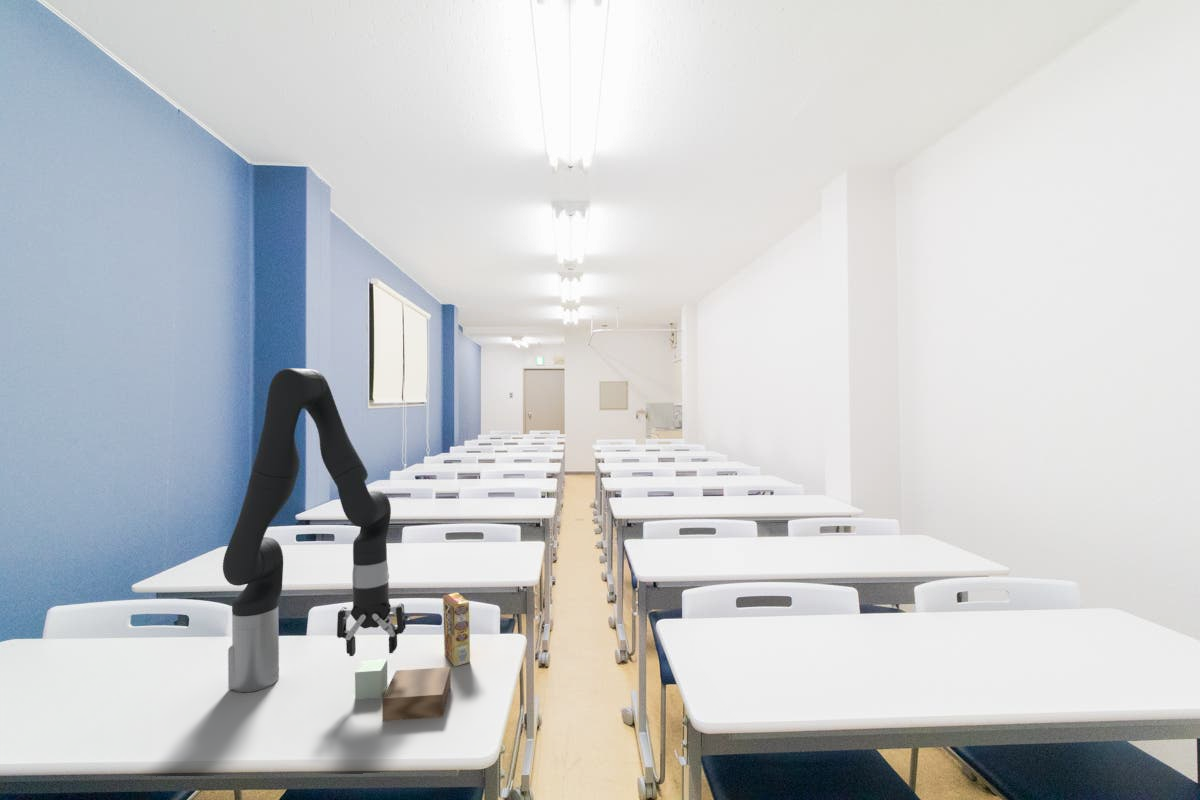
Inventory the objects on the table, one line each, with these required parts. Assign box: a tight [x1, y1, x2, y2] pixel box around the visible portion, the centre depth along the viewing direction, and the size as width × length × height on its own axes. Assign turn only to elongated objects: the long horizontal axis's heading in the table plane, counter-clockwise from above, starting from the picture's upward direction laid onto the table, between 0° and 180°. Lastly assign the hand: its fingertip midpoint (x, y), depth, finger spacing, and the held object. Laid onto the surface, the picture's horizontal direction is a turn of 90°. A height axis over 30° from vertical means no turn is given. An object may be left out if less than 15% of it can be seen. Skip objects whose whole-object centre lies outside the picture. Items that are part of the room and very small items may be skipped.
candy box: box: [442, 592, 471, 667], centre depth 142 cm, size 9×4×15 cm, turn 33°
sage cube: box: [354, 658, 388, 700], centre depth 126 cm, size 6×6×6 cm
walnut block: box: [381, 666, 452, 722], centre depth 121 cm, size 12×12×5 cm
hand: (372, 653), depth 126 cm, fingers open, 8 cm apart
